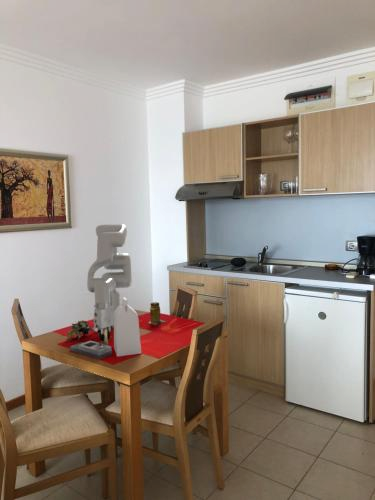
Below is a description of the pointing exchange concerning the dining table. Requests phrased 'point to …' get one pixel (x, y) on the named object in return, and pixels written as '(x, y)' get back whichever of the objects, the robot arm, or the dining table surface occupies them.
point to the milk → (126, 330)
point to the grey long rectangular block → (92, 349)
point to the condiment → (155, 314)
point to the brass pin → (105, 336)
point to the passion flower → (80, 329)
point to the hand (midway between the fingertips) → (104, 339)
